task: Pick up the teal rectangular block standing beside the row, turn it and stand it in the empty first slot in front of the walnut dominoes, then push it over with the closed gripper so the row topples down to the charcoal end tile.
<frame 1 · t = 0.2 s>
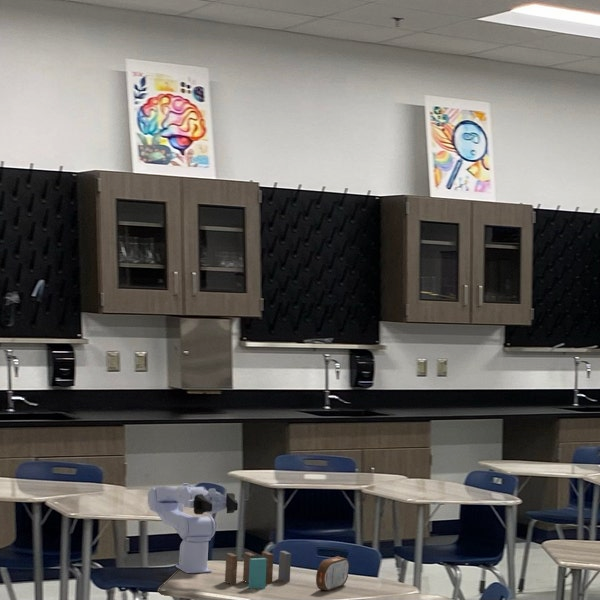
hand: (223, 506, 323), 22 cm above the table, tool horizontal, fingers open, 7 cm apart
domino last: (283, 580, 333), on the table
teal rectangular block: (256, 587, 322), on the table
domino 3: (248, 582, 328), on the table
domino 4: (266, 581, 330), on the table
tin: (332, 589, 326), on the table
domino 2: (230, 583, 326), on the table
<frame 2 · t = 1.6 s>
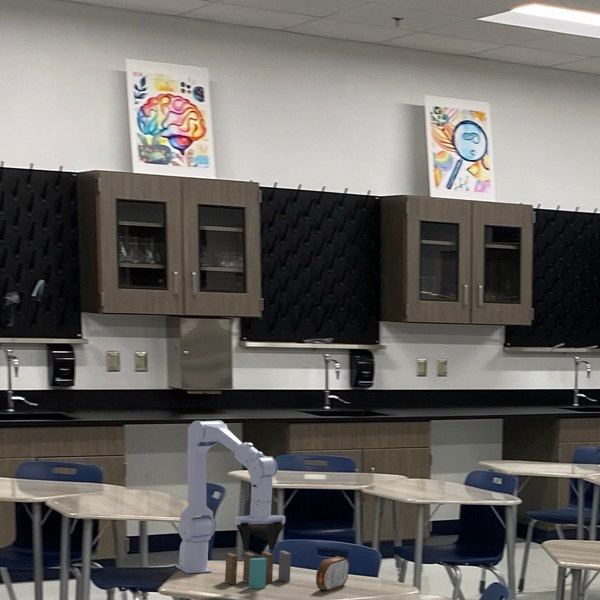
hand: (258, 549, 322), 10 cm above the table, tool pointing down, fingers open, 7 cm apart
nothing on the table moved.
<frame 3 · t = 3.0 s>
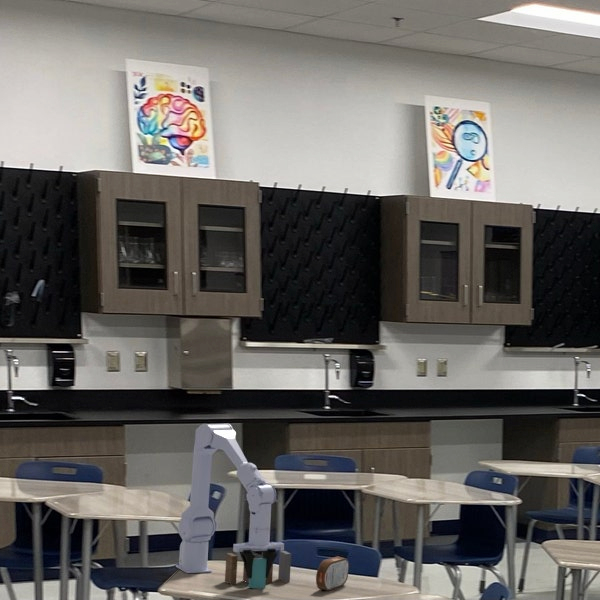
hand: (257, 577, 322), 3 cm above the table, tool pointing down, fingers closed on teal rectangular block, 4 cm apart
teal rectangular block: (256, 587, 322), on the table, touching gripper
everything else where it was.
when the fingers open (3 cm above the table, at t = 7.9 s): teal rectangular block moves 4 cm and tips over, resting on domino 2.
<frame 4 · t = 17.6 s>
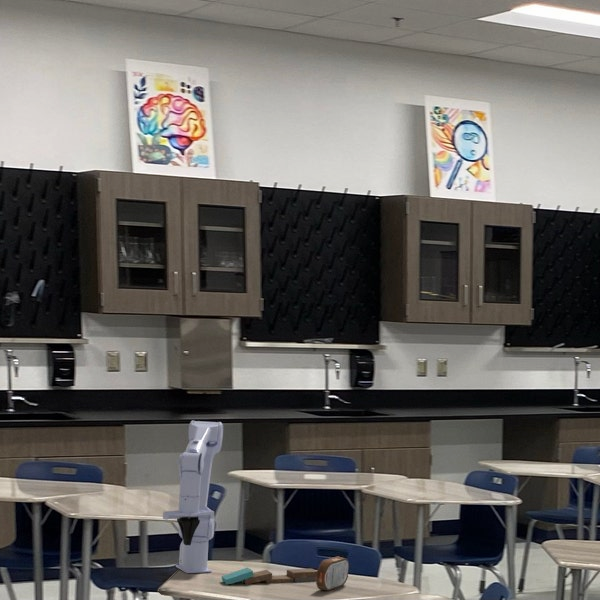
hand: (187, 544, 324), 10 cm above the table, tool pointing down, fingers closed
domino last: (291, 579, 334), on the table, tilted 90°, touching domino 4
teal rectangular block: (224, 580, 325), point 1 cm above the table, tilted 74°, touching domino 2
domino 3: (264, 580, 330), on the table, tilted 90°, touching domino 2
domino 4: (289, 574, 334), point 2 cm above the table, tilted 90°, touching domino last
domino 2: (242, 580, 327), point 1 cm above the table, tilted 80°, touching domino 3, teal rectangular block
everything else where it was.
at the end: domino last tilted 90°; teal rectangular block inside the target area (2.9 cm from its centre), point 0.8 cm above the table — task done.
